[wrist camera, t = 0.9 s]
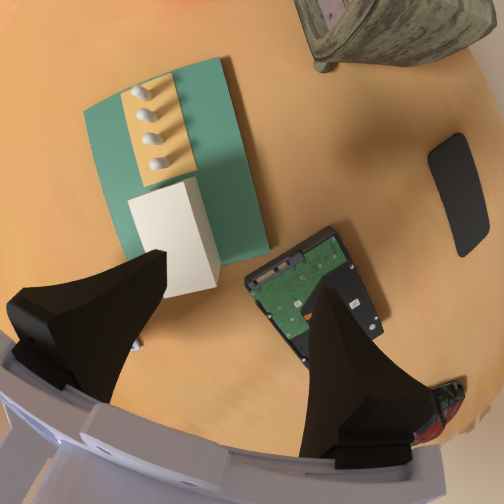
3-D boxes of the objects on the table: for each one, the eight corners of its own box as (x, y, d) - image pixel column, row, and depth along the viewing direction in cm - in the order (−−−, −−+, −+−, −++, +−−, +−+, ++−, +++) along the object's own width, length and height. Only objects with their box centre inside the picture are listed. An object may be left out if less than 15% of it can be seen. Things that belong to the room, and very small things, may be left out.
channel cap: (176, 273, 26) (164, 298, 21) (148, 191, 23) (127, 200, 19) (221, 262, 26) (216, 286, 21) (195, 176, 23) (183, 181, 18)
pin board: (140, 281, 27) (127, 299, 24) (88, 112, 21) (67, 108, 17) (269, 249, 27) (273, 266, 23) (219, 60, 20) (215, 44, 16)
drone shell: (358, 428, 40) (369, 461, 32) (441, 361, 35) (463, 391, 27) (402, 441, 45) (413, 465, 37) (466, 389, 40) (482, 412, 32)
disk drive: (377, 318, 31) (327, 221, 26) (386, 331, 28) (336, 229, 24) (307, 360, 33) (241, 277, 28) (312, 375, 30) (241, 290, 25)
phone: (460, 261, 28) (426, 156, 23) (456, 259, 28) (422, 155, 24) (491, 231, 26) (462, 129, 22) (487, 229, 27) (458, 129, 22)
